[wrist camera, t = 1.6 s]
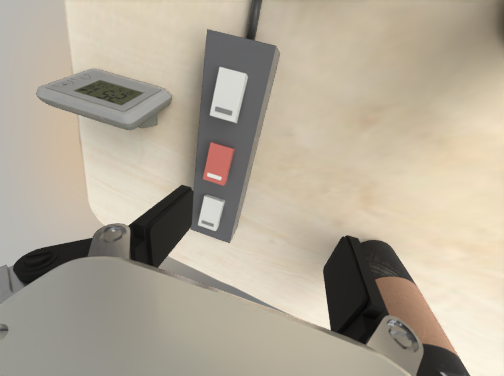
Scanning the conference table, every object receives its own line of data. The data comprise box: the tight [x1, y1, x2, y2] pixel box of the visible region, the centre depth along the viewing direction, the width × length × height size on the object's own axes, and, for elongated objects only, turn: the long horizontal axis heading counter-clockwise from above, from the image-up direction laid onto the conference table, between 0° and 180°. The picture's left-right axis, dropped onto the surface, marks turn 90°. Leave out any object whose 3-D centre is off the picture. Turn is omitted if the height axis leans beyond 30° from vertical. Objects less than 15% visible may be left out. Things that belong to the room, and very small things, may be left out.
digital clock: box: [36, 69, 172, 130], centre depth 30 cm, size 16×9×11 cm, turn 65°
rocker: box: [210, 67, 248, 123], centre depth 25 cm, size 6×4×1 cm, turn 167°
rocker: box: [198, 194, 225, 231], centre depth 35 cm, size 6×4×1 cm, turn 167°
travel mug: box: [361, 240, 470, 376], centre depth 29 cm, size 8×8×20 cm
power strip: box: [191, 0, 280, 243], centre depth 32 cm, size 40×9×5 cm, turn 167°
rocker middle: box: [203, 142, 234, 186], centre depth 30 cm, size 6×4×1 cm, turn 167°
